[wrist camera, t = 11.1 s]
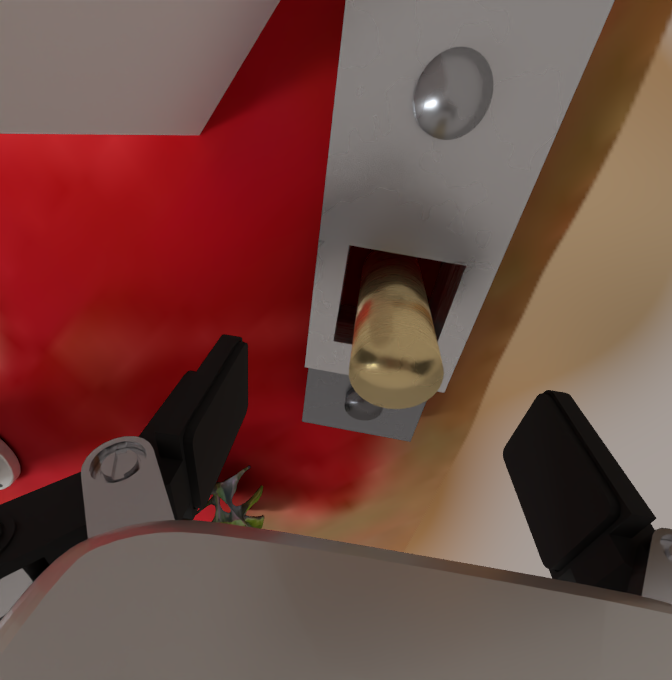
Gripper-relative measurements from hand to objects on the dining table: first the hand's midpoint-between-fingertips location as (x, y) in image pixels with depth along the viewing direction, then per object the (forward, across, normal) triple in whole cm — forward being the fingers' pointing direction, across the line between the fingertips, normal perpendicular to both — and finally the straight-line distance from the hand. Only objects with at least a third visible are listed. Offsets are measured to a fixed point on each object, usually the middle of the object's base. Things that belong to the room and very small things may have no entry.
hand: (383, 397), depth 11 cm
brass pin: (+10, 0, 0) cm, 10 cm away
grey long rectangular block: (+10, -1, 0) cm, 10 cm away
